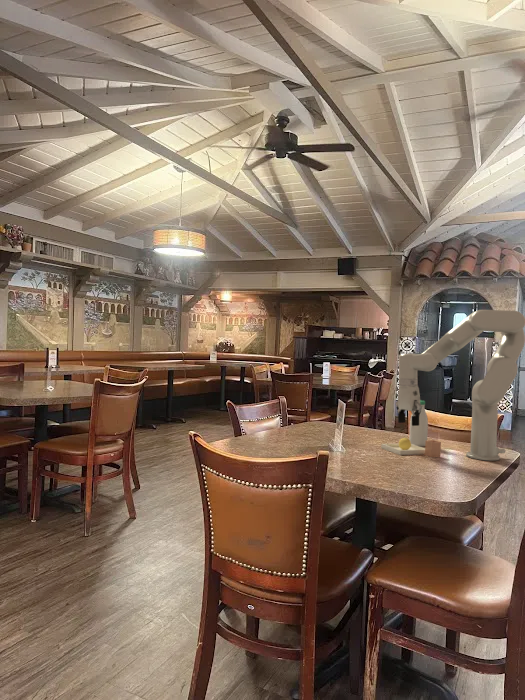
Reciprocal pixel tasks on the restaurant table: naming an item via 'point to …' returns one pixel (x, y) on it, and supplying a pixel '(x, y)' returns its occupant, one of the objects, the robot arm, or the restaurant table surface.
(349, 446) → the restaurant table surface
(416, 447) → the tray
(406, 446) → the ball
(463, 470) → the restaurant table surface
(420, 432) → the milk bottle
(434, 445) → the brown rectangular block
